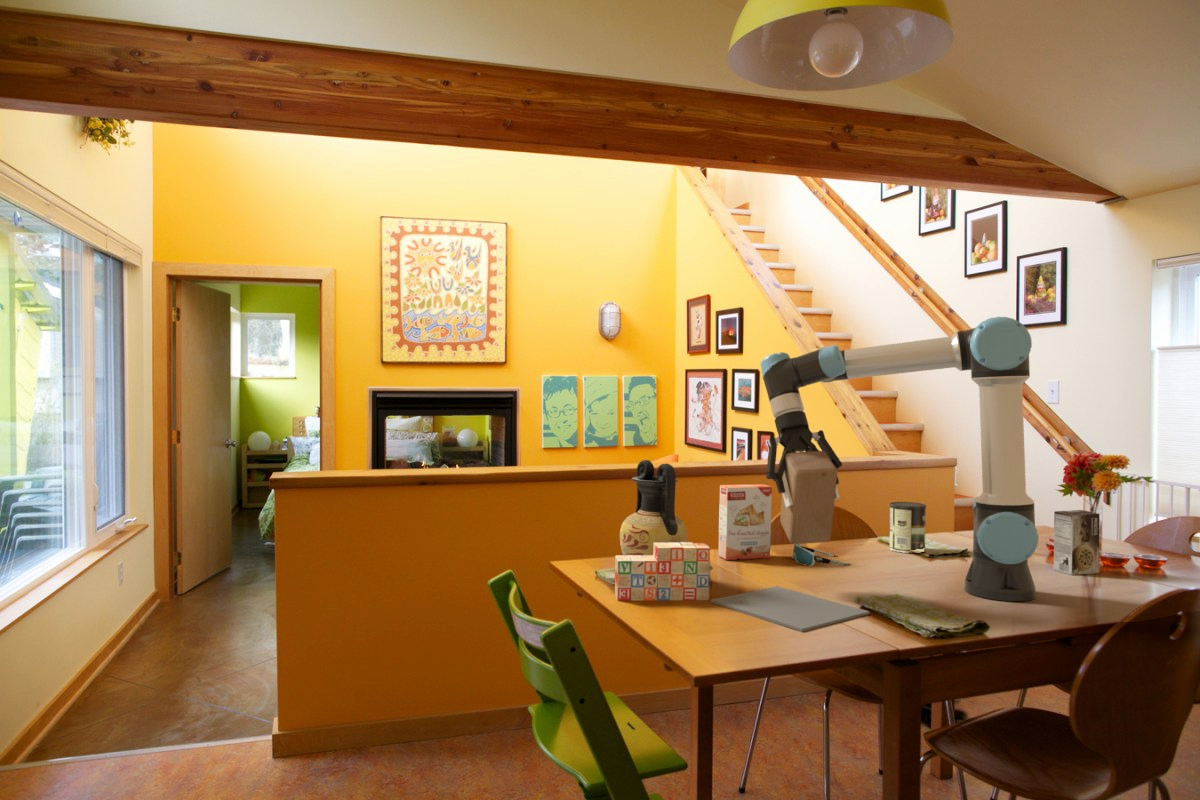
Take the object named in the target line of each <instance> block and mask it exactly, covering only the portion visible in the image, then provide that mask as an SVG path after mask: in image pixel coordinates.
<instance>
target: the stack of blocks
mask: <svg viewBox="0 0 1200 800" xmlns="http://www.w3.org/2000/svg"><path fill="white" fill-rule="evenodd" d="M710 552H711V548H710V546H709V545H708V544H706V543H705V542H691V541H687V542H679V543H653V555H643V556H641V555H628V556H627V555H623V554H621V555H619V554H618V555H617V554H616V555H615V561H614V562H615V564H614V565H615V566H614V594H615V597H616V600H617V602H618V601H632V602H633V601H634V602H635V601H639V602H640V601H644V602H645V601H646V602H647V601H648V602H649V601H650V602H651V601H710V582H711V581H710V579H711V578H710V577H711V576H710V574H711V561H710V559H711V555H710V554H711V553H710Z"/></svg>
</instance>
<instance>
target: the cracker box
mask: <svg viewBox="0 0 1200 800" xmlns="http://www.w3.org/2000/svg"><path fill="white" fill-rule="evenodd" d="M772 491H773V486H771V485H766V484H763V483H762V484H761V483H759V484H720V485H719V502H718V503H719V505H718V507H719V509H718V554H717V555H718V557H719V558H721V559H724V560H725V561H736V560H737V559H740V560H758V559H757V558H763V559H770V558H771V535H772V534H771V533H772V530H771V528H772V500H773V499H772V494H773V493H772Z"/></svg>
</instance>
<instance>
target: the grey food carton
mask: <svg viewBox="0 0 1200 800" xmlns="http://www.w3.org/2000/svg"><path fill="white" fill-rule="evenodd" d="M1053 513H1054V520H1053V521H1054V523H1053V524H1054V525H1053V528H1054V529H1053V530H1054V531H1053V532H1054V533H1053V535H1054V536H1053V547H1054V548H1053V570H1054V571H1057V572H1060V573H1063V574H1067V575H1069V576H1078V575H1079V576H1080V575H1090V574H1091V575H1092V574H1099V573H1100V513H1098V512H1092V511H1088V510H1084V509H1083V510H1082V509H1078V510H1075V509H1073V510H1061V511H1060V510H1059V511H1056V510H1055V511H1054V512H1053Z"/></svg>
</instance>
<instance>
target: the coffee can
mask: <svg viewBox="0 0 1200 800" xmlns="http://www.w3.org/2000/svg"><path fill="white" fill-rule="evenodd" d="M926 508H927V505H926V504H925V503H920V502H914V501H913V502H912V501H911V502H910V501H893V502H889V548H888V549H889V550H890V551H892V550H893V551H892V552H895V551H896V552H895V553H900V552H902V553H901V554H909V552H911V550H916V549H923V548H925V549H926V510H927V509H926Z"/></svg>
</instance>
